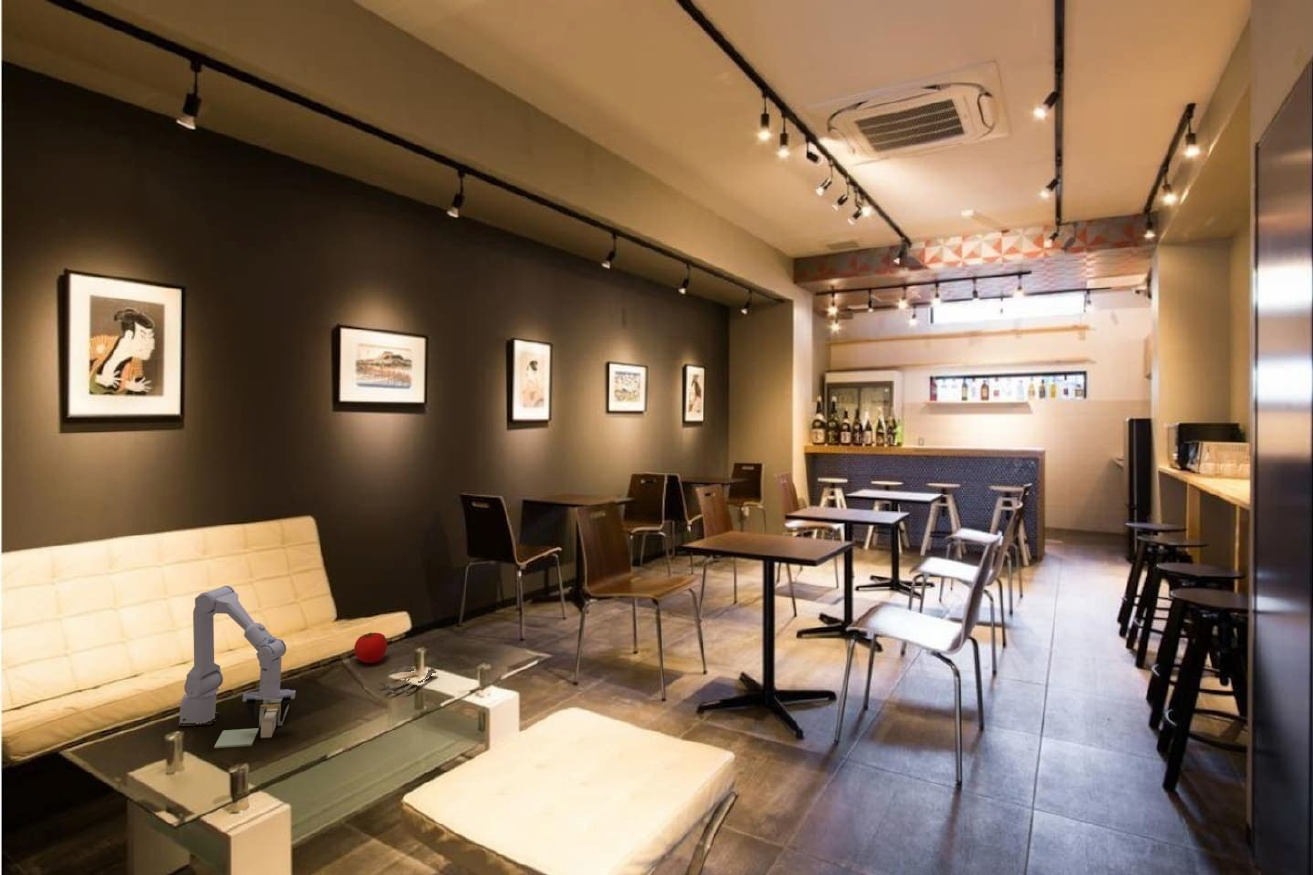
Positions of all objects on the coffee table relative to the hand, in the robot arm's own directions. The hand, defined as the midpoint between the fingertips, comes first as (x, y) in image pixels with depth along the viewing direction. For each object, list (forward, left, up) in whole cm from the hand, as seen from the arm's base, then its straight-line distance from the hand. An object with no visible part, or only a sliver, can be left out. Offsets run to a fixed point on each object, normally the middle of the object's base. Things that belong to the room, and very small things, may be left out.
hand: (268, 721), depth 223 cm
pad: (-8, -2, -4) cm, 9 cm away
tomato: (+27, +57, -4) cm, 63 cm away
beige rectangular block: (0, +3, -4) cm, 5 cm away
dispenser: (0, +11, -4) cm, 12 cm away
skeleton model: (+41, +32, -5) cm, 52 cm away
